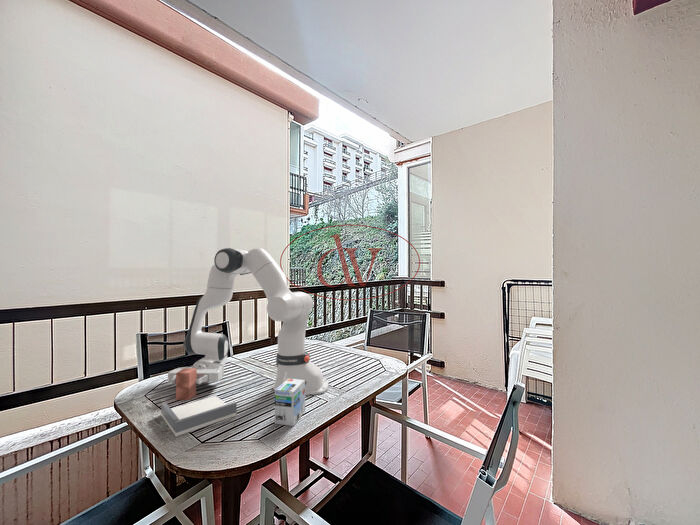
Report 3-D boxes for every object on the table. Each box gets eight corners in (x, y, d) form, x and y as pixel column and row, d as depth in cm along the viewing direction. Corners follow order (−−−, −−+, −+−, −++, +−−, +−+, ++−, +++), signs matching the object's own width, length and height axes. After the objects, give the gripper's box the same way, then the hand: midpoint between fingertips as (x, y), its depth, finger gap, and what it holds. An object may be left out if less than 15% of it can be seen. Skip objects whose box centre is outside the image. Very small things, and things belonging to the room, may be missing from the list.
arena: (216, 398, 112) (216, 387, 112) (236, 415, 99) (236, 403, 100) (160, 414, 100) (160, 402, 100) (175, 436, 87) (176, 422, 87)
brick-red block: (196, 394, 116) (196, 368, 116) (189, 399, 111) (189, 372, 111) (183, 394, 116) (183, 368, 116) (175, 399, 111) (176, 372, 111)
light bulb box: (293, 426, 92) (294, 391, 93) (273, 424, 94) (273, 389, 94) (305, 410, 103) (305, 379, 103) (287, 408, 104) (287, 377, 104)
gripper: (179, 362, 127) (158, 373, 113) (227, 362, 127) (211, 373, 113) (179, 377, 127) (157, 390, 113) (227, 377, 127) (211, 390, 113)
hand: (185, 381), depth 113 cm, fingers open, 8 cm apart
